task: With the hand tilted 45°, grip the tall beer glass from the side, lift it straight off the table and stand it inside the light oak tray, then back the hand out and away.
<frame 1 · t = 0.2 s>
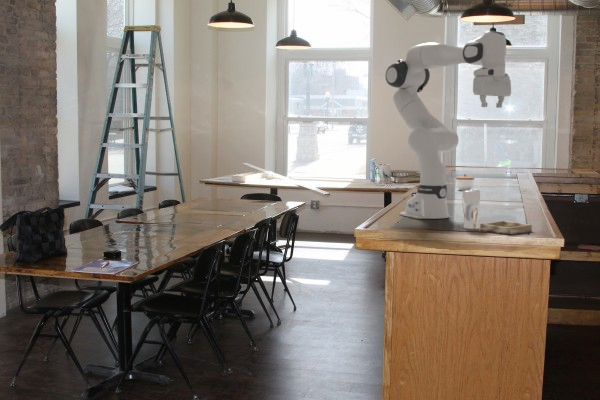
hand: (491, 107, 297), 47 cm above the table, tool pointing down, fingers open, 8 cm apart
oak tray: (505, 231, 287), on the table
beer glass: (470, 228, 295), on the table
lidded jar: (464, 190, 443), on the table
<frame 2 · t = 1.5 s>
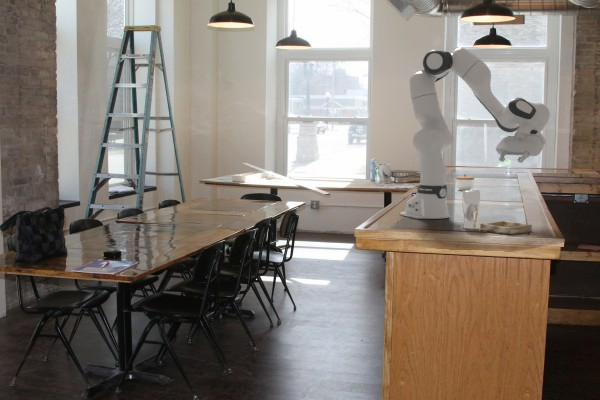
hand: (510, 161, 305), 26 cm above the table, tool tilted 45°, fingers open, 8 cm apart
nothing on the table moved.
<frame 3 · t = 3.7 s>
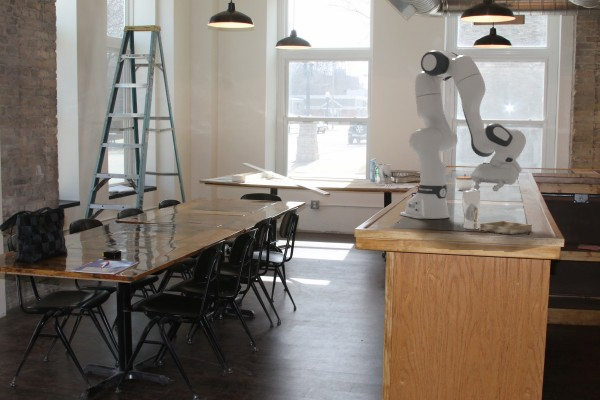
hand: (485, 189, 297), 15 cm above the table, tool tilted 45°, fingers open, 8 cm apart
nothing on the table moved.
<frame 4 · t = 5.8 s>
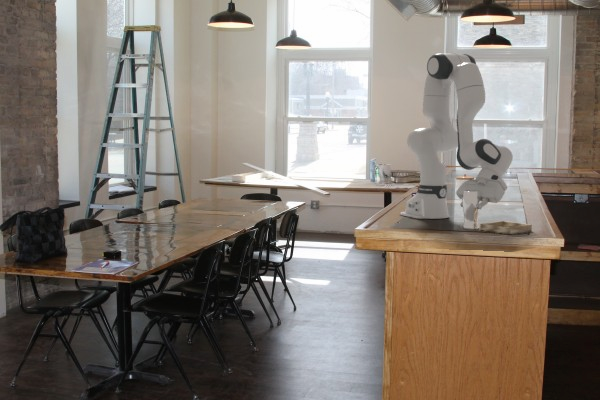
hand: (470, 207, 293), 8 cm above the table, tool tilted 45°, fingers closed on beer glass, 7 cm apart
beer glass: (470, 228, 295), on the table, touching gripper
everything else where it was.
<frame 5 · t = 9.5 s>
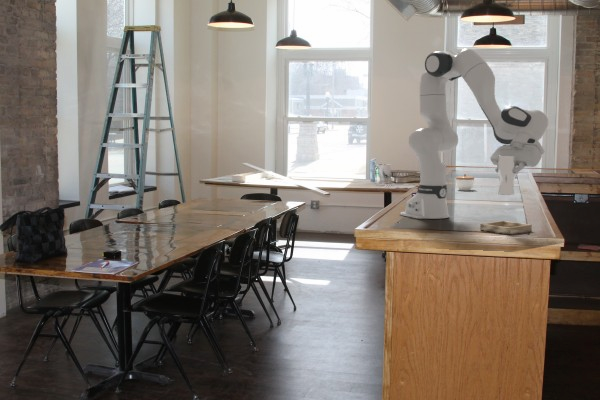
hand: (506, 172, 284), 23 cm above the table, tool tilted 45°, fingers closed on beer glass, 7 cm apart
beer glass: (506, 194, 286), point 14 cm above the table, touching gripper
everything else where it was.
when the fingers open (10 cm above the table, at t = 13.0 s): beer glass drops 1 cm, resting on oak tray.
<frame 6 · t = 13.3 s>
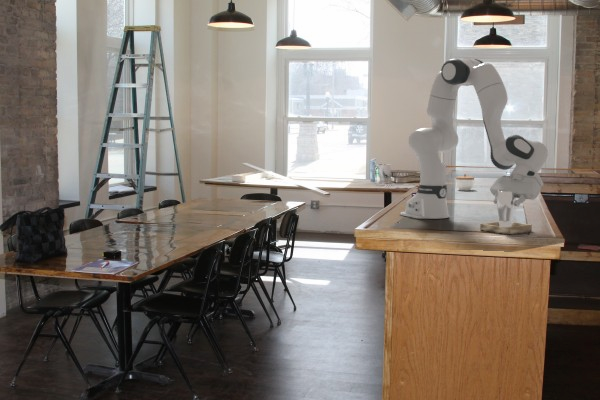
hand: (505, 204, 286), 10 cm above the table, tool tilted 45°, fingers open, 8 cm apart
beer glass: (505, 229, 287), resting on oak tray
everything else where it was.
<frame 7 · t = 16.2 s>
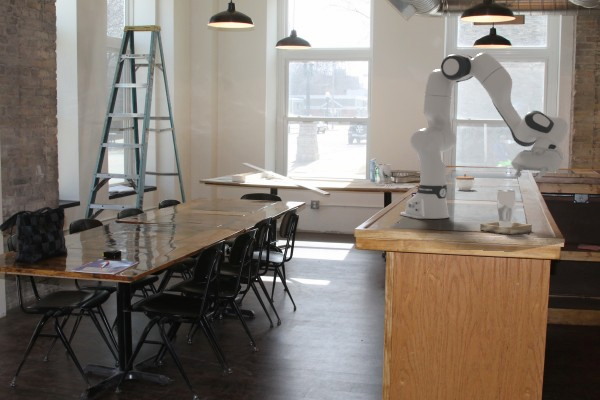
hand: (527, 176, 292), 20 cm above the table, tool tilted 45°, fingers open, 8 cm apart
nothing on the table moved.
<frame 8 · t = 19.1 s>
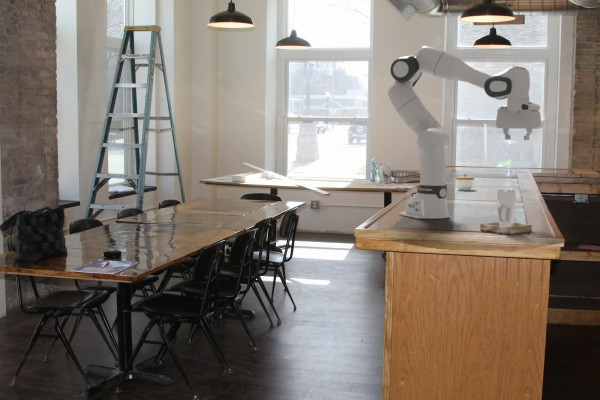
hand: (517, 139, 310), 34 cm above the table, tool pointing down, fingers open, 8 cm apart
nothing on the table moved.
at the end: beer glass 0.3 cm off-centre on the oak tray, point 0.4 cm above the oak tray's base; beer glass tilted 0°; the gripper is holding nothing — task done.
